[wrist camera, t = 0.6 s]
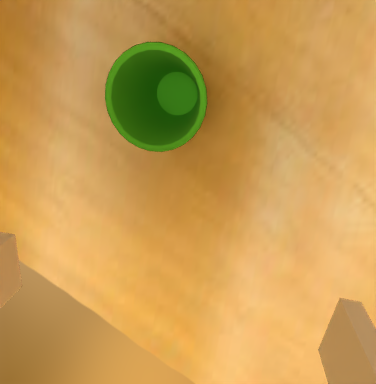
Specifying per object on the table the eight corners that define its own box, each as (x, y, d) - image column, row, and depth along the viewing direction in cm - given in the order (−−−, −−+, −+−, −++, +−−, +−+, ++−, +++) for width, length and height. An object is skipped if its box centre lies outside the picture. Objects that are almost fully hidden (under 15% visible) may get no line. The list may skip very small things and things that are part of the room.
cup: (140, 51, 34) (99, 41, 24) (218, 52, 33) (209, 42, 23) (142, 129, 37) (107, 149, 27) (213, 133, 36) (204, 155, 26)
